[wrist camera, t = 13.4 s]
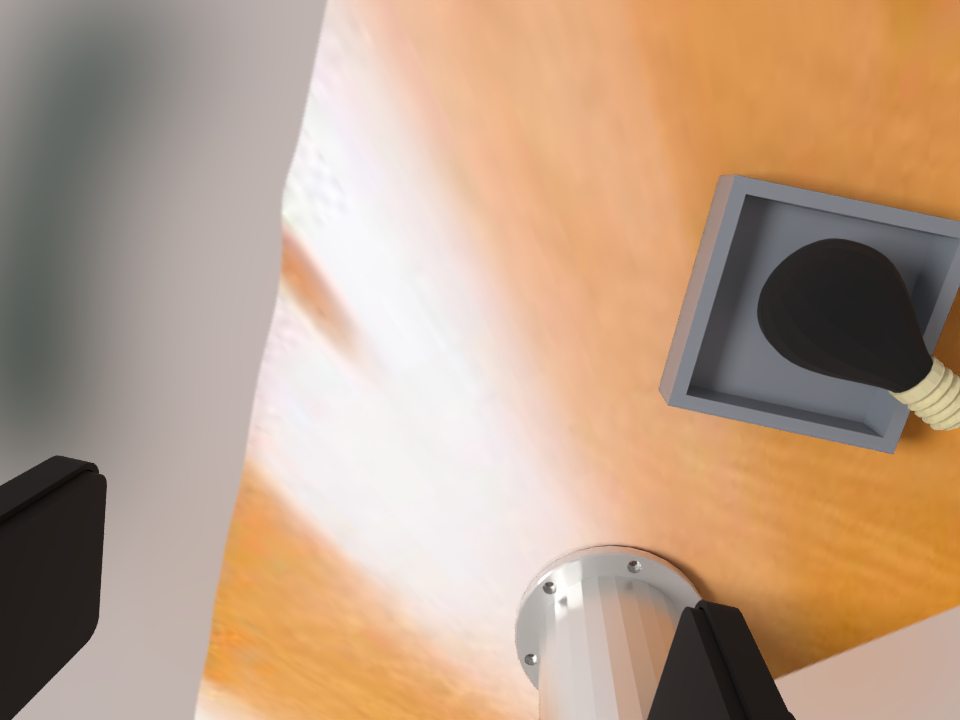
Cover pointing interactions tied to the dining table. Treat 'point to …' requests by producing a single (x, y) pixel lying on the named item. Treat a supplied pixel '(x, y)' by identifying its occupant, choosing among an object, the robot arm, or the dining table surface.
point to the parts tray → (734, 299)
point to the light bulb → (856, 326)
